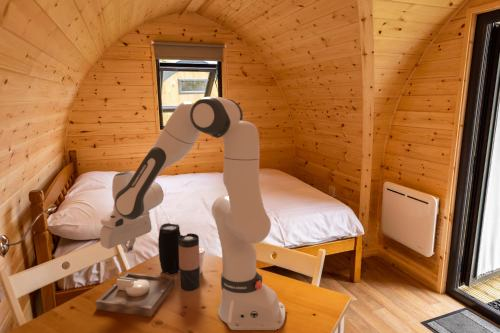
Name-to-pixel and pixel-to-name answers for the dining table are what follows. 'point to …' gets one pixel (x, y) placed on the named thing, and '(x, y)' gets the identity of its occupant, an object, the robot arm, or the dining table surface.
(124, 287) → the beige rounded piece
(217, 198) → the robot arm
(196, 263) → the travel mug
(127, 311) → the panel
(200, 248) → the smoothie
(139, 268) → the dining table surface
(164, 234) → the portable speaker
